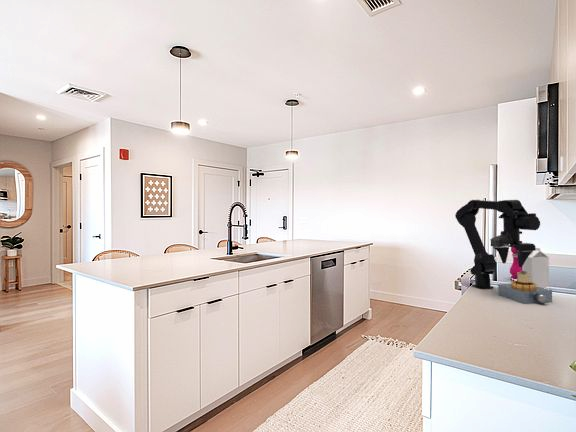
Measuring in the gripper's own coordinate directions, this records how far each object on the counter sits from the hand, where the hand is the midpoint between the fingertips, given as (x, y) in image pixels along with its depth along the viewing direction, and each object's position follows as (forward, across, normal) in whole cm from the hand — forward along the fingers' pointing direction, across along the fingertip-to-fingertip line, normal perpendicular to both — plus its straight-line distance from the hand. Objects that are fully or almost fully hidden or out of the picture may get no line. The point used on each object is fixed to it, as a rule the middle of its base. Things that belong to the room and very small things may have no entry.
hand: (512, 265), depth 141 cm
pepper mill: (+13, -23, +22) cm, 34 cm away
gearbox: (+13, +7, +1) cm, 15 cm away
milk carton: (+13, -7, +17) cm, 23 cm away
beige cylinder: (+8, +5, +1) cm, 10 cm away
